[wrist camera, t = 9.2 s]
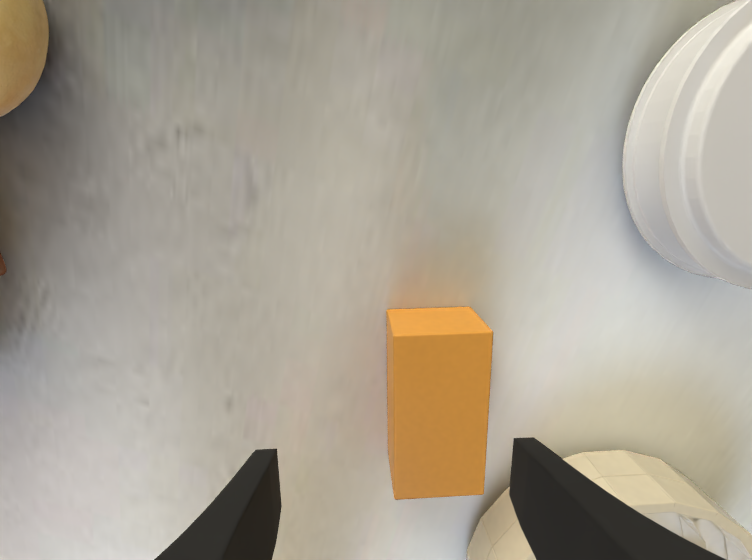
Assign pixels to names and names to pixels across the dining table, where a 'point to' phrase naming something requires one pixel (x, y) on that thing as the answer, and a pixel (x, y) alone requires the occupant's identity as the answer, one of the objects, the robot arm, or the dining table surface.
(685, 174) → the lid
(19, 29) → the onion
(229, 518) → the robot arm
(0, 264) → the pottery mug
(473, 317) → the orange rectangular block
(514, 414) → the dining table surface
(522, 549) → the bowl
